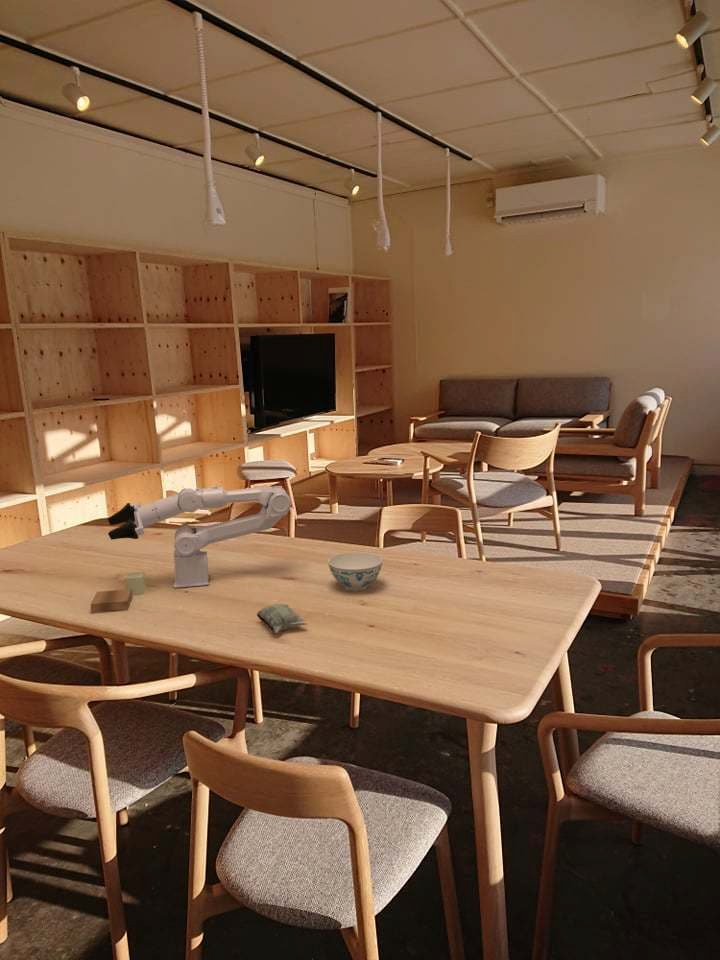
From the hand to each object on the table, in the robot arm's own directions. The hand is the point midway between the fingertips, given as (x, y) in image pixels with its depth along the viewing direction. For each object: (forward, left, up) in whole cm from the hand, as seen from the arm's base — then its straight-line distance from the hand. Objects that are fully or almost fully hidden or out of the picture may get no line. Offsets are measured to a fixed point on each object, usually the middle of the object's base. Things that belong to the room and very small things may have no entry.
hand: (109, 529), depth 192 cm
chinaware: (-66, +14, -18) cm, 70 cm away
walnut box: (-1, +12, -18) cm, 22 cm away
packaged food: (-44, +36, -18) cm, 60 cm away
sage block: (-6, +3, -18) cm, 19 cm away
